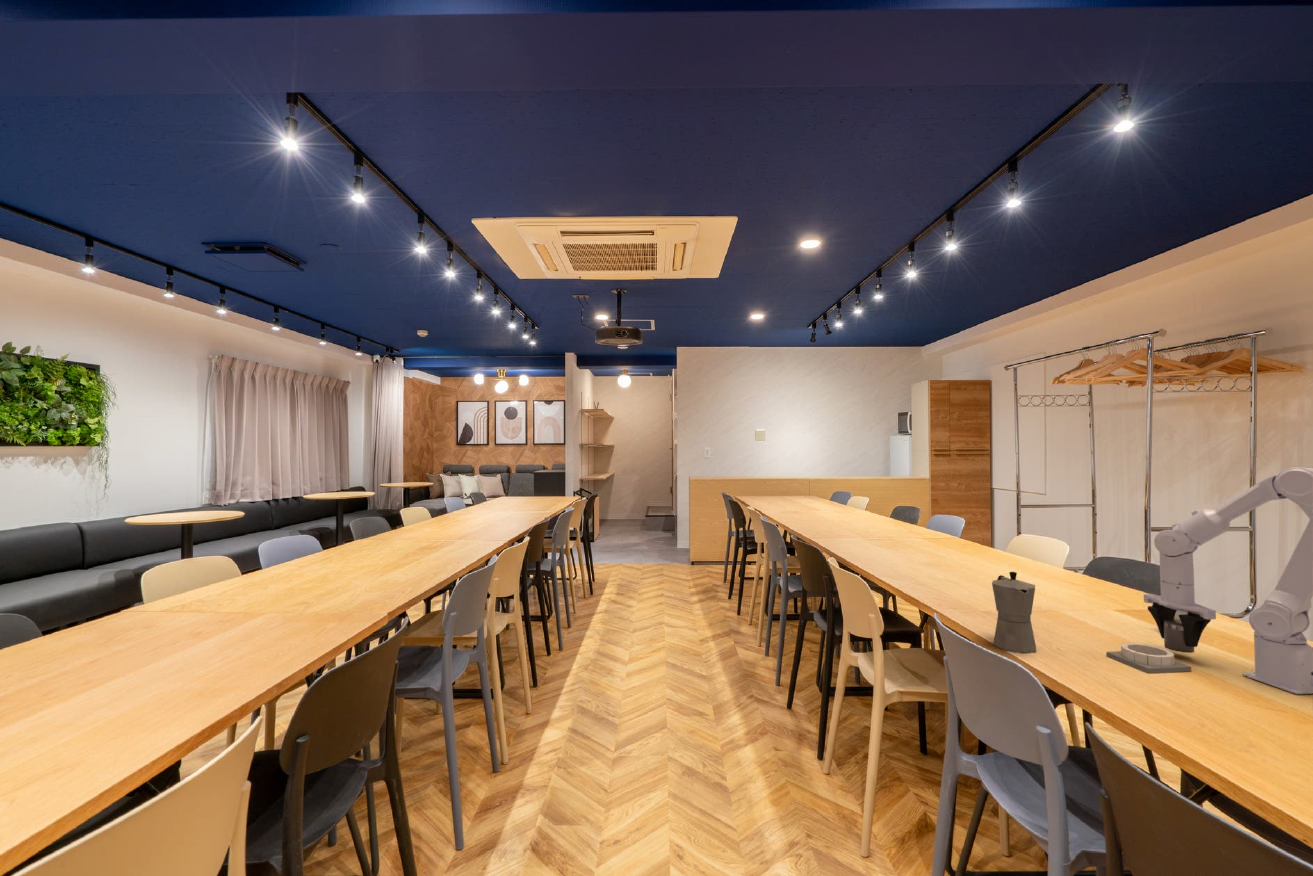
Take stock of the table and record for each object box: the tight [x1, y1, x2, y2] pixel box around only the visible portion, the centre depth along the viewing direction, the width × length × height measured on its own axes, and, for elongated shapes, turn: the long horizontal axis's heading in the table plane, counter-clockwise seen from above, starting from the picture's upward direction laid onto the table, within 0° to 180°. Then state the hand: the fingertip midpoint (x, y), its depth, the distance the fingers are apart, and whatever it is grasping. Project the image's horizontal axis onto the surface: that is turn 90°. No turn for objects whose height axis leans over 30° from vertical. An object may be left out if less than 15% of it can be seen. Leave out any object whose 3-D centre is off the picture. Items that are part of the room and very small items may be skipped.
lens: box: [1163, 619, 1195, 654], centre depth 128 cm, size 5×5×6 cm
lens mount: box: [1105, 642, 1192, 674], centre depth 124 cm, size 10×10×3 cm
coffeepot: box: [991, 571, 1037, 654], centre depth 136 cm, size 15×9×18 cm, turn 168°
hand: (1178, 642), depth 128 cm, fingers closed on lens, 5 cm apart
